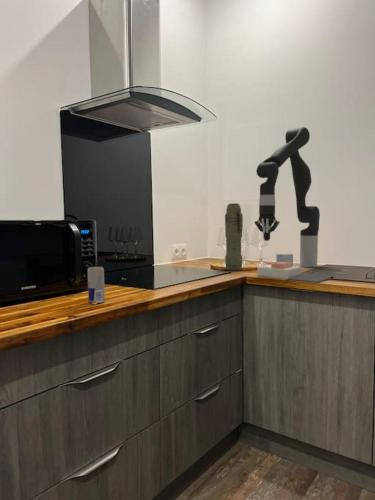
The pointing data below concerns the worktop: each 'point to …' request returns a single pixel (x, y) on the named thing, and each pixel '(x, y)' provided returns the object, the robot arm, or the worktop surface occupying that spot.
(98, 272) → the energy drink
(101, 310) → the worktop surface
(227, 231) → the thermos
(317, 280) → the mat
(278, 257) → the medicine box
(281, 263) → the tile
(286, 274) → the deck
